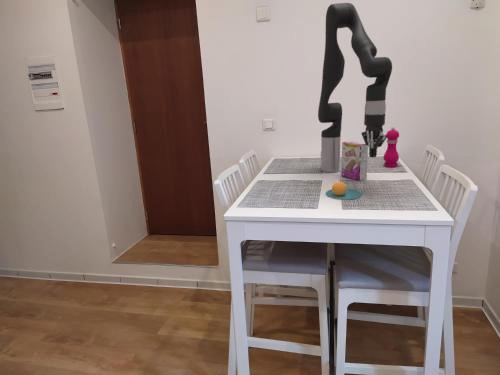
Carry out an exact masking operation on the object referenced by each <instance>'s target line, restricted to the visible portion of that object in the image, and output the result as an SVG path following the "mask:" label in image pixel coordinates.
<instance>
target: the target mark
mask: <svg viewBox="0 0 500 375" xmlns="http://www.w3.org/2000/svg"><path fill="white" fill-rule="evenodd" d="M346 188H347V187H346ZM325 196H326V197H328V198H331V199H335V200H341V201H342V200H343V201H346V200H347V201H351V200H356V199H359V198H361V197H362V196H363V193H362V192H361V191H360V190H357V189H354V188H347V190H346V192H345V194H344V195H341V196H337V195H335V194H334V193H333V192H332V188H331V189H329V190H327V191H326V192H325Z"/></svg>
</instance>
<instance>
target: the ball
mask: <svg viewBox="0 0 500 375" xmlns="http://www.w3.org/2000/svg"><path fill="white" fill-rule="evenodd" d="M331 189H332V192H333V193H334V194H335V195H337V196H341V195H344V194H345V192H346V190H347V186H346V184H345V183H344V182H343V181H336V182H333V185H332V187H331Z"/></svg>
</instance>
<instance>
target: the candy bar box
mask: <svg viewBox="0 0 500 375" xmlns="http://www.w3.org/2000/svg"><path fill="white" fill-rule="evenodd" d="M341 144H342V146H341V148H342V149H341V177H345V178H348V179H352V180H355V181H359V182H361V181H364V180H367V177H368V174H367V173H368V156H369V147H368V145H366V144H365V142H359V141H352V140H346V141H342V143H341Z"/></svg>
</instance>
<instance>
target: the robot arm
mask: <svg viewBox="0 0 500 375" xmlns="http://www.w3.org/2000/svg"><path fill="white" fill-rule="evenodd" d="M343 28H344V29H345V28H348V29H349V30H350V32H351V33H352V34H351V40H350V45H351V46H350V47H351V48H352V51H353V52H354V54H355V55H356V57H357V58H358V62H359V65H360V69H361V73H362V74H363V76H365V77H366V78H371V79H372V78H375V80H374V83H372V84H369V85H367V87H366V89H365V104H364V115H363V116H364V117H363V118H364V119H363V125H364V126H366V127H365V131H362V132H361V136H362V138H363V142H364V143H365V144H366V145H368V156H369V158H376V157H377V155H378V148H381V147H382V146H383V144H384V143H385V141H387V135H386V134H384V128H383V126H384V125H385V124H386V112H387V110H386V109H387V108H386V107H387V104H386V98H387V97H386V95H387V87H388V84H389V82H390V78H391V75H392V71H393V63H392V61H391V59H390V58H389V57H388V56H387V57H386V56H380V57H377V53H378V49H377V47H376V45H375V44H374V43H373V41H372V40H371V39H370V37H369V35H368V34H367V32H366V30H365V27H364V24H363V22H362V21H361V18H360V15H359V13H358V11H357V8H356V7H355V5H353V4H352V2H351V3H350V2H343V3H342V2H341V3H340V2H339V3H332V4H331V3H330V5H329V6H328V7H327V9H326V14H325V42H324V43H325V44H324V45H325V46H324V54H323V64H322V77H321V78H322V79H321V91H320V98H319V103H318V110H317V111H318V112H317V117H318V121H319V123H321V124H327V123H328V124H329V123H332V124H331V125H330V126H329V127H328V128H325V129H323V130H322V131H321V135H320V137H321V138H320V140H321V144H320V145H321V146H320V147H321V150H320V170H321V172H324V173H337V172H340V171H341V140H342V139H341V135H342V134H341V132H342V119H343V107H342V104H341V103H340V102H329V100H330V98H331V95H332V94H333V92H334V91H335V89H336V87H337V86H338V85H339V84H340V82H341V81H342V79H343V77H344V73H345V64H346V60H345V56H344V54H343V51H342V50H341V48H340V45H339V43H338V29H343Z"/></svg>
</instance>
